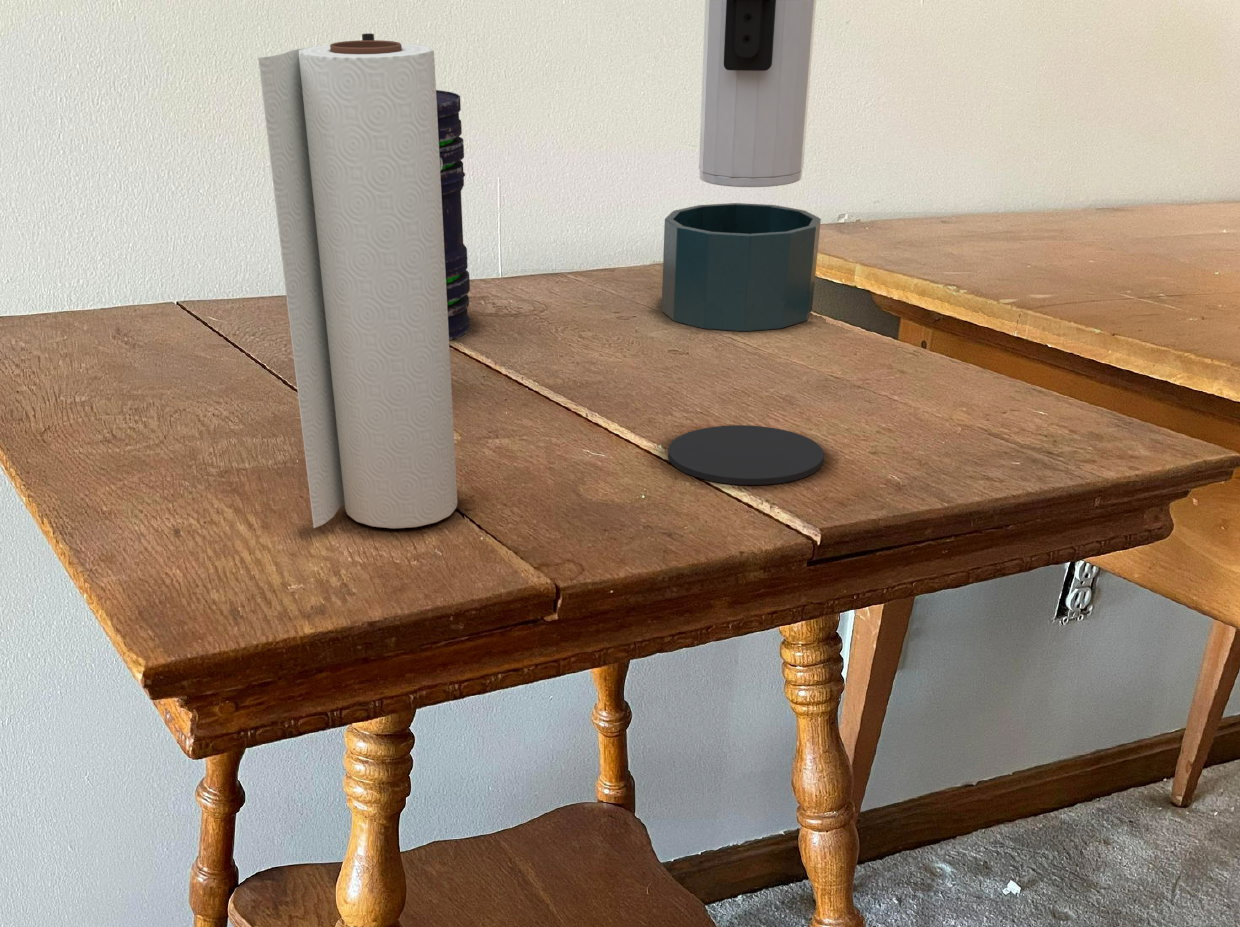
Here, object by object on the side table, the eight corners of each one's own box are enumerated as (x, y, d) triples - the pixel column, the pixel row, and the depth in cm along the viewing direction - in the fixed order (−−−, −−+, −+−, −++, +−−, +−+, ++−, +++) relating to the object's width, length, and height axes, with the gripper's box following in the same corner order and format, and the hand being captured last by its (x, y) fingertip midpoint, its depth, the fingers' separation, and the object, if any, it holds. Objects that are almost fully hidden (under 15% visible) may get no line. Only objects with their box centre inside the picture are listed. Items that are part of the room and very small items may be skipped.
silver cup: (807, 170, 103) (823, -24, 95) (794, 188, 97) (809, -16, 90) (709, 167, 104) (717, -24, 97) (690, 185, 99) (697, -16, 91)
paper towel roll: (463, 490, 76) (441, 36, 63) (451, 533, 72) (425, 51, 59) (333, 489, 77) (285, 36, 64) (313, 531, 72) (257, 51, 59)
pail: (818, 297, 109) (827, 207, 105) (799, 335, 101) (808, 238, 97) (679, 288, 112) (683, 200, 108) (649, 324, 103) (652, 230, 99)
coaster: (831, 438, 83) (832, 432, 83) (812, 492, 76) (813, 485, 76) (684, 426, 85) (685, 419, 85) (652, 477, 78) (653, 470, 78)
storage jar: (374, 306, 108) (356, 85, 99) (491, 316, 105) (484, 91, 96) (315, 339, 100) (289, 104, 91) (439, 352, 98) (425, 111, 89)
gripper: (819, -282, 78) (793, 79, 89) (852, -261, 92) (826, 50, 102) (689, -276, 80) (679, 77, 90) (740, -257, 93) (725, 49, 104)
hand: (757, 61), depth 96 cm, fingers closed on silver cup, 7 cm apart
